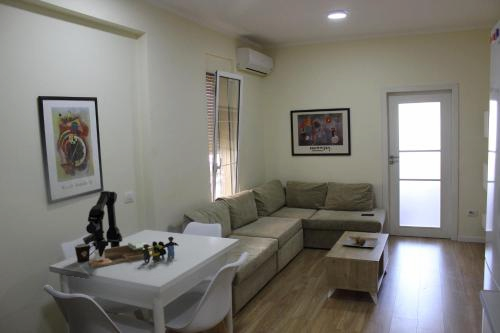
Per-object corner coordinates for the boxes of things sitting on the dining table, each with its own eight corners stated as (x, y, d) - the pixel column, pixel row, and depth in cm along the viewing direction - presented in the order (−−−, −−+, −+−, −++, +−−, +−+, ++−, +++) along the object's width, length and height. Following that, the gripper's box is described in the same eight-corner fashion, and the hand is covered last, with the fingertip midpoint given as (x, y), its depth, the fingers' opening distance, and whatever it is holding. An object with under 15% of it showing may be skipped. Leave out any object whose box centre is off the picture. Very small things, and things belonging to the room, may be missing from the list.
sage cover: (128, 246, 259) (128, 242, 259) (145, 243, 265) (145, 239, 265) (134, 249, 250) (133, 245, 250) (151, 246, 257) (151, 242, 256)
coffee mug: (74, 264, 248) (73, 247, 247) (77, 260, 256) (76, 244, 255) (94, 262, 250) (93, 245, 249) (97, 258, 258) (96, 242, 257)
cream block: (95, 259, 245) (94, 250, 245) (102, 257, 248) (102, 248, 247) (97, 260, 242) (96, 251, 241) (104, 259, 244) (104, 250, 244)
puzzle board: (88, 263, 247) (87, 252, 247) (144, 252, 267) (143, 241, 266) (94, 269, 237) (93, 257, 236) (151, 257, 256) (150, 246, 255)
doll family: (171, 254, 261) (170, 233, 260) (180, 256, 255) (179, 235, 254) (139, 264, 243) (138, 241, 242) (149, 266, 237) (147, 243, 236)
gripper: (79, 229, 246) (81, 254, 248) (87, 234, 231) (89, 262, 232) (99, 226, 253) (100, 251, 254) (107, 231, 237) (109, 258, 239)
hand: (99, 255), depth 245 cm, fingers closed on cream block, 4 cm apart
